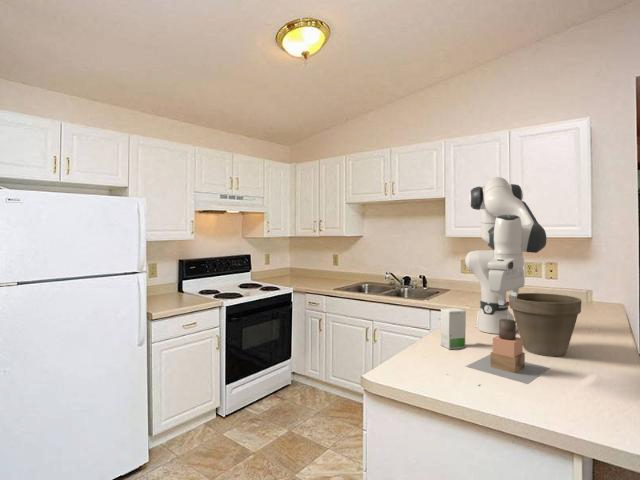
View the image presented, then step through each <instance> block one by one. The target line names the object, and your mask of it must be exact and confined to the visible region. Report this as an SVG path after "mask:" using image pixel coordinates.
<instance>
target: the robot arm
mask: <svg viewBox="0 0 640 480" xmlns="http://www.w3.org/2000/svg"><path fill="white" fill-rule="evenodd" d="M467 198H468V203H469V205H470V208H471V209H473V210H477V211H478V210H479V211H480V210H481V214H480V237H481V239H482V240H483V242H486V243H487V246H488V247H489V248H490V249H477V250H476V249H475V250H472V251H469V252H468V253H467V254H466V255H465V258H464V265H465V266H466V268H467V270H469V271H470V272H471V273H473V274H474V275H475V276H476V279H477V280H478V282H479V285H480V295H481V296H480V298H481V300H480V303H479V308H480V309H479V310H478V311H477V317H476V318H477V319H476V324H474V325H473V326H474V328H476V329H477V330H478V331H479V332H484V333H488V334H495V335H496V334H497V335H499V320H500V319H510V320H514V321H515V317H514V314H512V313H511V312H510V310H509V307H510V304H509V301H507V292H510V291H511V292H510V295H511V296H510V301H514V302H515V301H517V295H518V293H519V291H520V288H523V287H525V284H526V283H525V270H524V265H525V259H524V256H523V255H524V254H523V253H525V252H526V253H533V254H537V253H539V252H540V251H542V250H543V249H544V248H545V247H546V245H547V239H548V238H547V233H546V230H545V229H544V227H543V226H542V225H541V224H540V223H539V222H538V220H537V219H536V216H535V215H534V213H533V212H532V210H531V208H530V207H529V205H528V204H527V202H525V201H523V199H524V192H523V189H522V187H521V186H520V185H519V184H514V183H511V184H510V183H509V182H508V180H507V179H506V178H504V177H502V176H501V177H500V176H499V177H498V176H496V177H495V176H494V177H493V178H490V179H488V181H486V183H485V185H484V186H475V187H473V188H472V189H471V190H470V192H469V193H468V197H467ZM516 332H518V327H517V324H516Z"/></svg>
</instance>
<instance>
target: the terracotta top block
mask: <svg viewBox="0 0 640 480" xmlns="http://www.w3.org/2000/svg"><path fill="white" fill-rule="evenodd" d="M523 350H524V347H523V338H520V337H517V336H516V339H515V340H504V339H501V338H499V335H497V336H494V337H492V352H493V353H497V354H501V355H505V356H510V357H516V356H518V355H520V354H522V353H524V352H523Z"/></svg>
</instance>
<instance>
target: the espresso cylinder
mask: <svg viewBox="0 0 640 480" xmlns="http://www.w3.org/2000/svg"><path fill="white" fill-rule="evenodd" d="M516 325H517V324H516V321H515V319H514V320H510V319H500V320H499V334H498V336H499V338H501V339H504V340H515V339H516V337H517V334H516V333H517V331H516Z"/></svg>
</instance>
